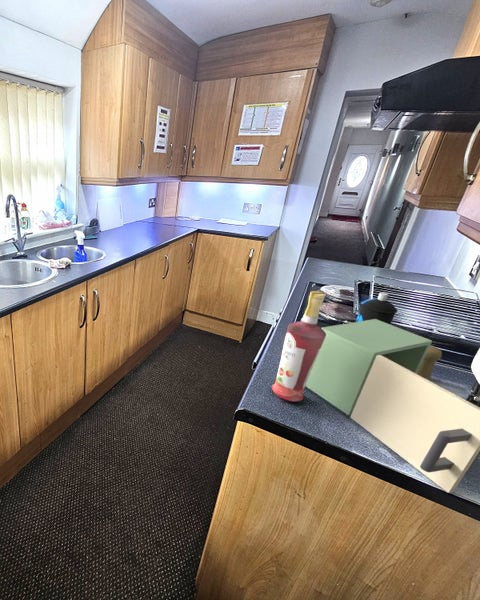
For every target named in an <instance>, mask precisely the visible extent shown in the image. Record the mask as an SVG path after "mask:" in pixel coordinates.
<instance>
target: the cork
mask: <svg viewBox="0 0 480 600" xmlns="http://www.w3.org/2000/svg"><path fill="white" fill-rule="evenodd" d="M442 357H443V352H442V350H441V349H440V348H439V347H437V346H434V345H432V344H431V345H430V347H429V349H428V351H427V353H426V355H425V357H424V359H423V361H422V363H421V365H420V368H419V370H418V372H417V375H419V376H421V377H423V378H425V379H427V380H429V381H430V382H431V379H432V375H433V372H434V368H435V365H436V362H438V361H440V359H442Z"/></svg>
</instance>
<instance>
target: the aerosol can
mask: <svg viewBox="0 0 480 600" xmlns="http://www.w3.org/2000/svg"><path fill="white" fill-rule="evenodd" d="M388 297H389V293H387V292H383V291H382V292H379V293H378V296H377V298H369V299H366V300H364V301H361V302H360V305H361V306H360V308H359V311H358V313H357V316H356V319H355V321H354V322H360V321H366V320H372V319H377V320H379V321H382V322H385V323H387V324H390V325H392V322H393V320H394V317H395V315H396V313H398V309H397V308H396V307H395V305H394V304H393V303H391V302H390V301H388V300H387V299H388Z"/></svg>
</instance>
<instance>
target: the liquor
mask: <svg viewBox="0 0 480 600" xmlns="http://www.w3.org/2000/svg"><path fill="white" fill-rule="evenodd" d="M325 297H326V293H325V292H323V291H320V290H311V291H310V293H309V296H308V304H307V307H306V309H305V311H304V314H303V316H302V318H301V321H293V322H291V323H289V324H288V325H287V328H286V334H285V337H284V342H283V347H282V351H281V357H280V361H279V364H278V365H279V366H278V371H277V374H276V379H275V381H274V384H272V385H271V390H272V391H273V393H274V394H275V395H276V397H278V398H279V399H281V400H282V401H284V402H287V403H288V402H290V403H293V402H300V401H302V400H304V398H305V395H304V391H305V388H306V386H305V385H306V383H307V380H308V378H309V375H310V373H311V370H312V368H313V365H314V363H315V361H316V359H317V356H318V354H319V352H320V349H321V346H322V344H323V341H324V339H325V337H326V333H325V332H324V331H323V329H322V328H323V327H320V326H319V325H318V320H319V315H320V310H321V306H322V305H323V303H324V300H325Z"/></svg>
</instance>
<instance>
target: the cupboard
mask: <svg viewBox="0 0 480 600" xmlns="http://www.w3.org/2000/svg"><path fill="white" fill-rule="evenodd" d="M321 328H322V329H323V331H324V332H325V333H326V337H325V339H324V341H323V344H322V346H321V349H320V352H319V354H318V356H317V359H316V361H315V363H314V365H313V368H312V370H311V373H310V375H309V378H308V380H307V383H306V385H305V388H308V389H309V390H310V391H312V392H313V393H315V394H317V395H318V396H319V397H321V398H322V399H324V400H325V401H327V402H328V403H329V404H331V405H333V406H334V407H336V408H337V409H339V410H340V411H341V412H343V413H344V414H346V415H347V416H351V414H352V412H353V410H354V407H355V405H356V403H357V400H358V398H359V396H360V393H361V391H362V389H363V386H364V384H365V382H366V379H367V377H368V375H369V372H370V370H371V368H372V365H373V363H374V360H375V358H376V356H377V355H381V356H383V357H385V358H387V359H389V360H391V361H393V362H395V363H397V364H398V365H400V366H402V367H404V368H406V369H408V370H410V371H412V372H414V373H415V374H417V372H418V370H419V368H420V365H421V363H422V361H423V359H424V357H425V355H426V353H427V351H428V349H429V347H430V345H431V346H432V342H433V340H431V339H429V338H426V337H424V336H421V335H418V334H416V333H414V332H411V331H408V330H405V329H403V328H401V327H397V326H395V325H392V324H387V323H385V322H382V321H379V320H377V319H372V320H366V321H360V322H355V321H354V322H348V323H342V324H336V325H330V326H323V327H321Z"/></svg>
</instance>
